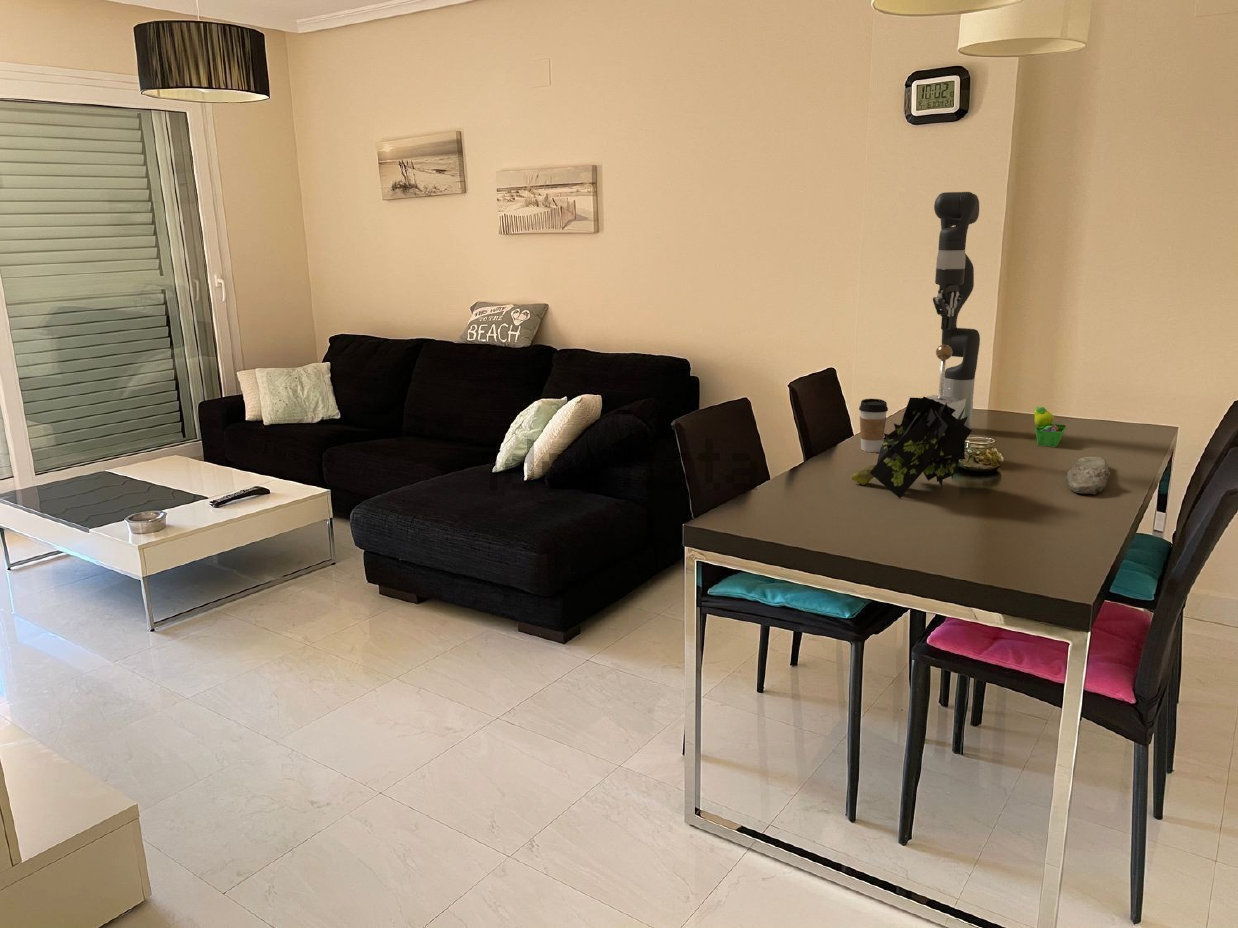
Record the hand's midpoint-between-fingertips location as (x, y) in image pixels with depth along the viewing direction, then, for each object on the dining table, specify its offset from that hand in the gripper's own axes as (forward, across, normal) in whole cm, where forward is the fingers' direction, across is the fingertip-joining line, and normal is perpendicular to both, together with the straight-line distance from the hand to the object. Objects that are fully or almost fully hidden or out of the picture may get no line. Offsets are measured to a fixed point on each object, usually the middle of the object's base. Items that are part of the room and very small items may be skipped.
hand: (945, 329), depth 258 cm
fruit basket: (+37, -39, +15) cm, 56 cm away
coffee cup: (+37, +6, -18) cm, 42 cm away
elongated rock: (+37, -5, +41) cm, 55 cm away
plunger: (+26, 0, 0) cm, 26 cm away
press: (+37, 0, 0) cm, 37 cm away
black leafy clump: (+37, +36, +12) cm, 53 cm away
